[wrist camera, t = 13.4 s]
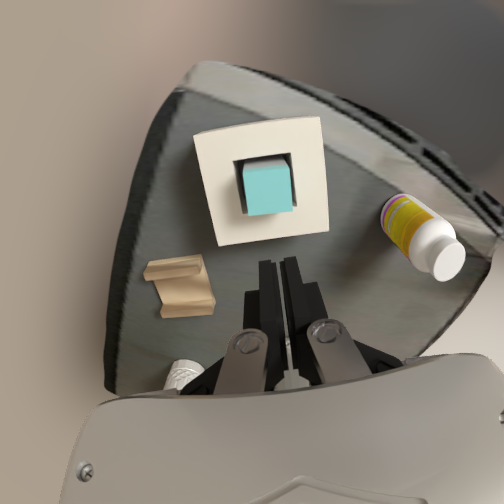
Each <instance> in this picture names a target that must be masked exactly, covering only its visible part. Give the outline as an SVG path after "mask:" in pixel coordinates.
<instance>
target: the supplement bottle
mask: <svg viewBox="0 0 504 504" xmlns="http://www.w3.org/2000/svg"><path fill="white" fill-rule="evenodd" d="M381 226H382V228H383V230H384V232H385V233H386V234H387V235H388V237H389V238H390V239H391V240H392V241H393V242H394V243H395V244H396V246H397V247H398V248H399V249H400V250H401V251H402V252H403V253H404V255H405V256H406V257H407V258H408V259H409V261H410V262H411V263H412V264H413V265H414V266H415V267H416V268H417V269H418V270H420V271H422V272H430V273H431V274H432V275H433V276H434V277H435V279H437V280H438V281H447V280H449V279H451V278H452V277H454V276H455V275H456V274H457V273H458V272H459V270H460V269H461V267H462V265H463V263H464V260H465V249H464V247H463V246H462V245H461V244H460V243H459V242H458V241H457V240H456V235H455V232H454V229H453V227H452V226H451V225H450V224H449V223H448V222H447V221H446V220H445V219H443V218H442V217H441V216H439V215H438V214H437V213H435V212H434V211H433V210H431V209H430V208H428V207H427V206H426V205H424V204H423V203H421V202H420V201H419V200H417V199H416V198H414V197H413V196H411V195H408V194H398V195H395V196H393V197H392V198H391V199H389V200H388V201H387V203H386V204H385V205H384V207H383V209H382V213H381Z"/></svg>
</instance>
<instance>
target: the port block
mask: <svg viewBox="0 0 504 504" xmlns="http://www.w3.org/2000/svg"><path fill="white" fill-rule="evenodd" d="M193 137H194V142H195V147H196V151H197V156H198V161H199V165H200V170H201V174H202V179H203V183H204V187H205V192H206V196H207V200H208V205H209V209H210V213H211V217H212V222H213V226H214V230H215V234H216V238H217V242H218V246H224V245H231V244H237V243H244V242H251V241H258V240H266V239H273V238H280V237H287V236H294V235H302V234H309V233H316V232H324V231H329V217H328V199H327V184H326V172H325V161H324V150H323V141H322V132H321V124H320V117H316V116H299V117H289V118H280V119H272V120H264V121H257V122H251V123H245V124H239V125H233V126H227V127H222V128H217V129H212V130H207V131H203V132H201V133H198V134H196V135H194V136H193ZM274 154H281V155H282V157H283V158H284V160H285V162H286V163H287V165H288V167H289V169H290V180H291V193H292V206H293V211H291V212H281V213H272V214H262V215H253V216H249V215H248V208H247V201H246V194H245V187H244V180H243V168H244V163H245V159H247V158H253V157H260V156H267V155H274Z"/></svg>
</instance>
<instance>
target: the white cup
mask: <svg viewBox="0 0 504 504" xmlns="http://www.w3.org/2000/svg"><path fill="white" fill-rule="evenodd" d="M203 372H204V368H203V367H202V366H201V365H200V364H198V363H196V362H195V361H191V360H187V359H180V360H177V361H174V363H173V364H172V366H171V369H170V373H169V374H168V377H167V380H166V383H165V386H164V389H163V390H166V389H172V388H177V390H181V389H183V387H184V386H185V385H186V384H187V383H189V382H190V381H192V380H193V379H194V378H196V377H197V376H199V375H200V374H201V373H203Z"/></svg>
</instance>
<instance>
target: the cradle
mask: <svg viewBox="0 0 504 504" xmlns="http://www.w3.org/2000/svg"><path fill="white" fill-rule="evenodd" d="M143 275H144V277H145V280H146V281H148V280H153V281H154V283H155V286H156V288H157V290H158V293H159V295H160V297H161V300H162V302H163V306H162V308H161V311H160V313H161V316H162V318H172V317H186V316H198V315H209V314H213V311H214V306H215V298H214V295H213V292H212V289H211V285H210V282H209V279H208V275H207V272H206V269H205V265H204V262H203V258H202V255H201V254H197V255H190V256H183V257H177V258H170V259H163V260H156V261H149V263H148V265H147V267H146V269H145V271H144V272H143Z"/></svg>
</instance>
